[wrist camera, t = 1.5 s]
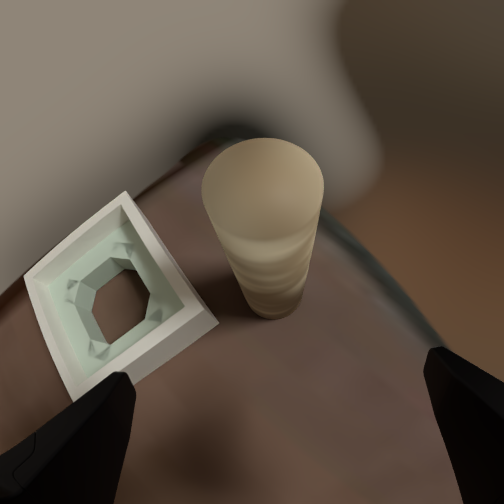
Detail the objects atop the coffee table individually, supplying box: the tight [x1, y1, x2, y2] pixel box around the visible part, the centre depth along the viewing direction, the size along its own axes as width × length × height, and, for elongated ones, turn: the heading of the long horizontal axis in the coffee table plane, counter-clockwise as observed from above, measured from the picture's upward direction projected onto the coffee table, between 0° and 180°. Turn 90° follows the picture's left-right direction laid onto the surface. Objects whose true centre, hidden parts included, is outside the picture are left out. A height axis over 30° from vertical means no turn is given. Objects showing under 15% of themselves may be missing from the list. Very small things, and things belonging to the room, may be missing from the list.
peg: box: [202, 138, 324, 319], centre depth 16 cm, size 4×4×13 cm
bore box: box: [24, 191, 219, 402], centre depth 21 cm, size 11×11×4 cm
